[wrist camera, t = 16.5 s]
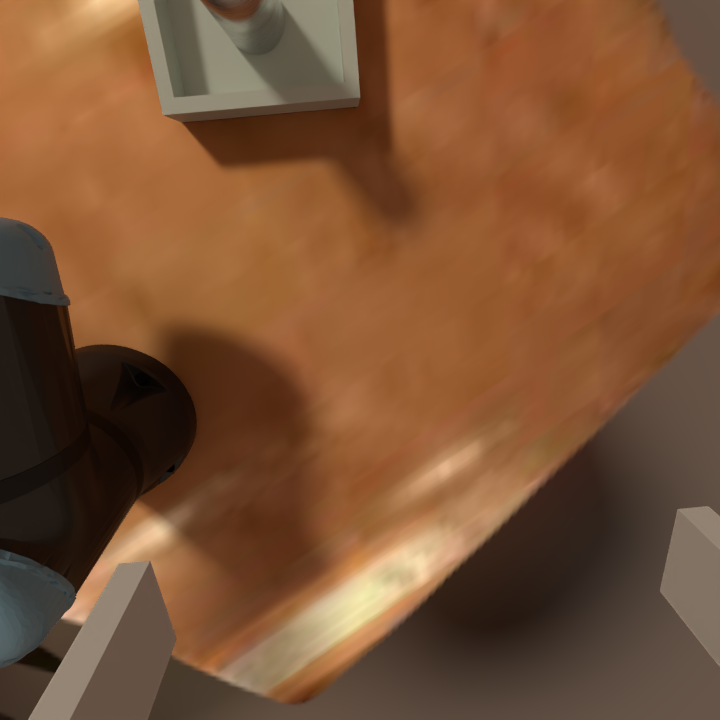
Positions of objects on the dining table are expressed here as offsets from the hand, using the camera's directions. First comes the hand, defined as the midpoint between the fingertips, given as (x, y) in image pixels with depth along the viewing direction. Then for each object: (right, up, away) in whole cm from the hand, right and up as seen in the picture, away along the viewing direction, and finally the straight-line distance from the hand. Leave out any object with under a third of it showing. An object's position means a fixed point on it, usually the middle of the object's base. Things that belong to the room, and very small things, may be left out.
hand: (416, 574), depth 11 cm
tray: (-9, +30, +22) cm, 38 cm away
